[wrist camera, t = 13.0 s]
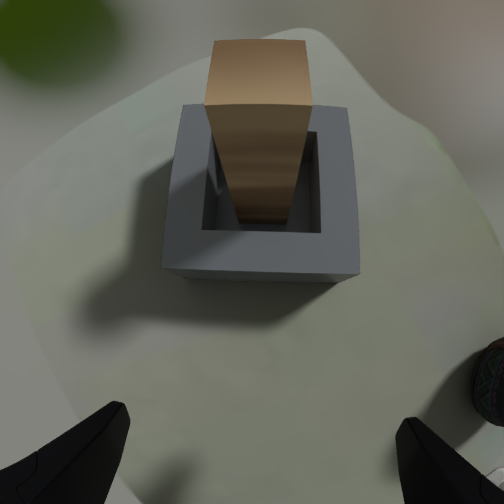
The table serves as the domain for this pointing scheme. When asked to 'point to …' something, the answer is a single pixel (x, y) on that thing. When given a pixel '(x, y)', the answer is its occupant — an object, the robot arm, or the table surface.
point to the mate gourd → (490, 383)
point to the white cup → (497, 477)
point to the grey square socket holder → (264, 235)
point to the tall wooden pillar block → (259, 122)
